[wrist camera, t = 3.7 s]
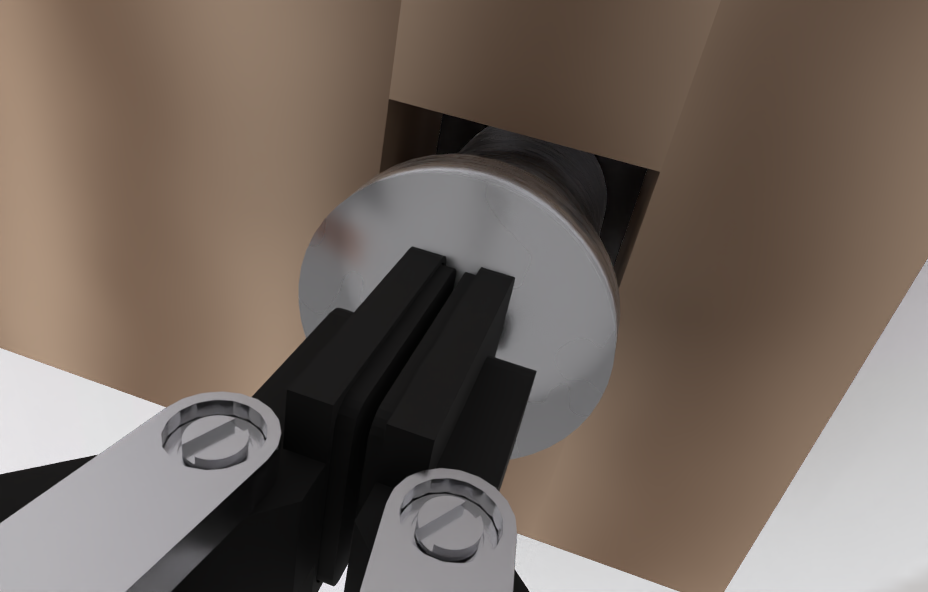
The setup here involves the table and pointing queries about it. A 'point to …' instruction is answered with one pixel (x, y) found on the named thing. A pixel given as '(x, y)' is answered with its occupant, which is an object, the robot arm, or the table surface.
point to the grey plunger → (492, 260)
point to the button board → (416, 135)
